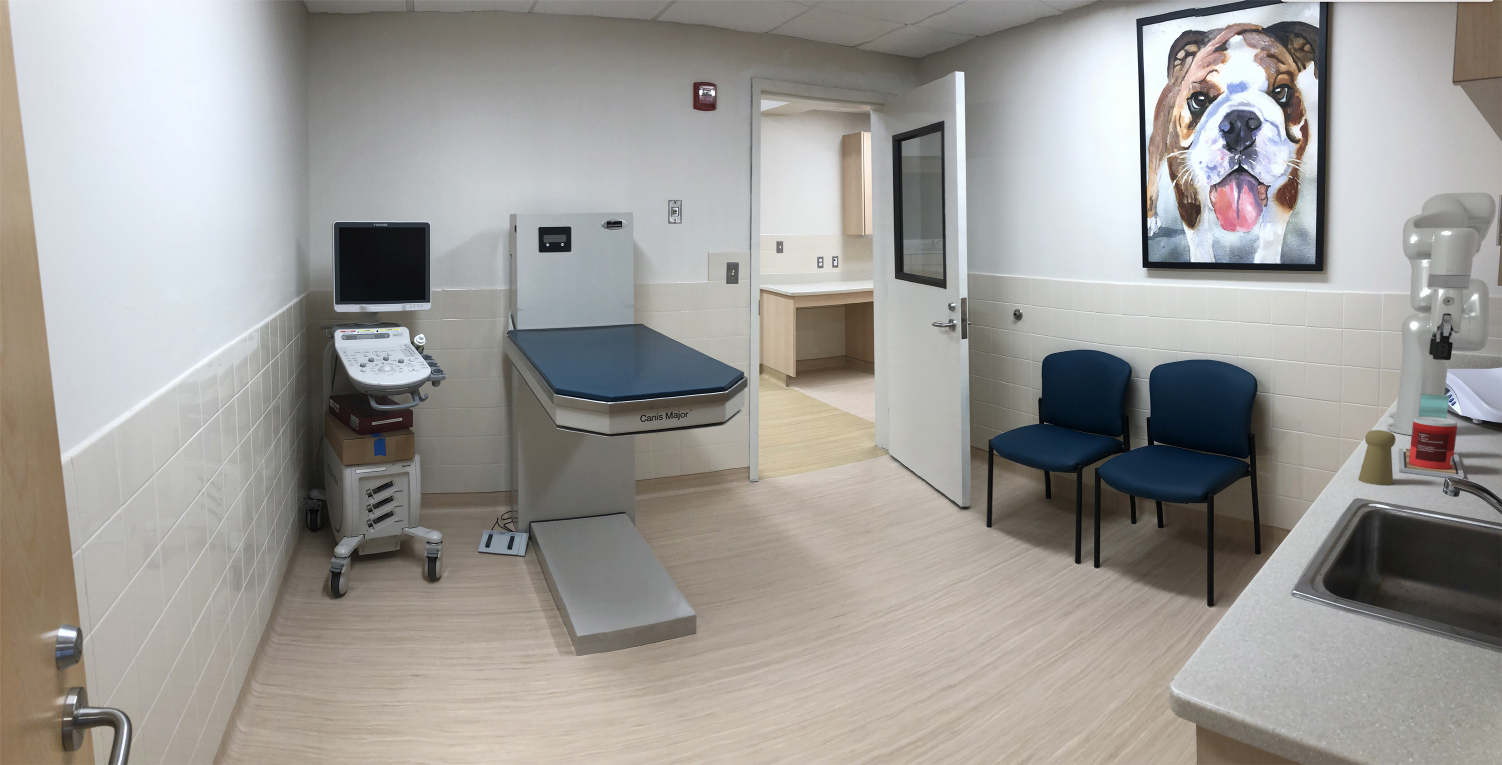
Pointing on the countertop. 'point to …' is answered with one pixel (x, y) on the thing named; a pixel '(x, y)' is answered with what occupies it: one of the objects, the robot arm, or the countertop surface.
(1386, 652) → the countertop surface
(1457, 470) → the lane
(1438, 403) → the teal upright with base
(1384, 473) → the cork
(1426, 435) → the canned food
